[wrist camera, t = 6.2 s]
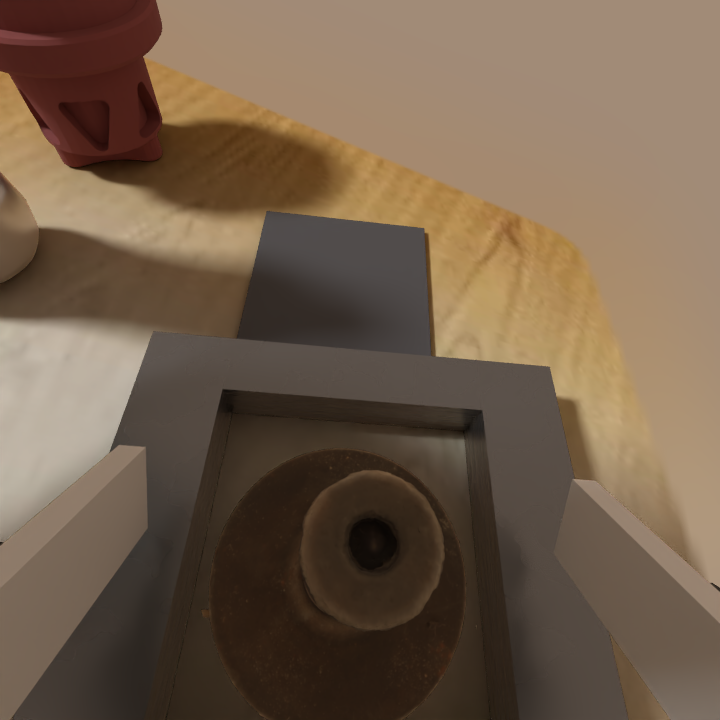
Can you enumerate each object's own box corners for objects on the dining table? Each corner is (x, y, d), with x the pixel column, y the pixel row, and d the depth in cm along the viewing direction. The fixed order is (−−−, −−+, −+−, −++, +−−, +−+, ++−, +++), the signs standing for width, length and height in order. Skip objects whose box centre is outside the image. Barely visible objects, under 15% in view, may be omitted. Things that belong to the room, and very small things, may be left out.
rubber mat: (236, 348, 21) (235, 345, 21) (267, 214, 26) (266, 211, 26) (429, 365, 22) (431, 362, 21) (423, 232, 27) (424, 228, 26)
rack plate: (-18, 940, 11) (-97, 1021, 9) (170, 360, 20) (153, 331, 18) (625, 937, 12) (692, 1007, 10) (525, 390, 21) (549, 366, 19)
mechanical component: (85, 94, 31) (215, 123, 30) (-5, 174, 25) (150, 211, 25) (-34, -175, 20) (163, -132, 20) (-229, -130, 15) (35, -73, 15)
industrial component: (211, 696, 14) (-64, 948, 4) (247, 482, 18) (158, 313, 7) (480, 701, 15) (872, 928, 4) (460, 494, 18) (650, 354, 8)
